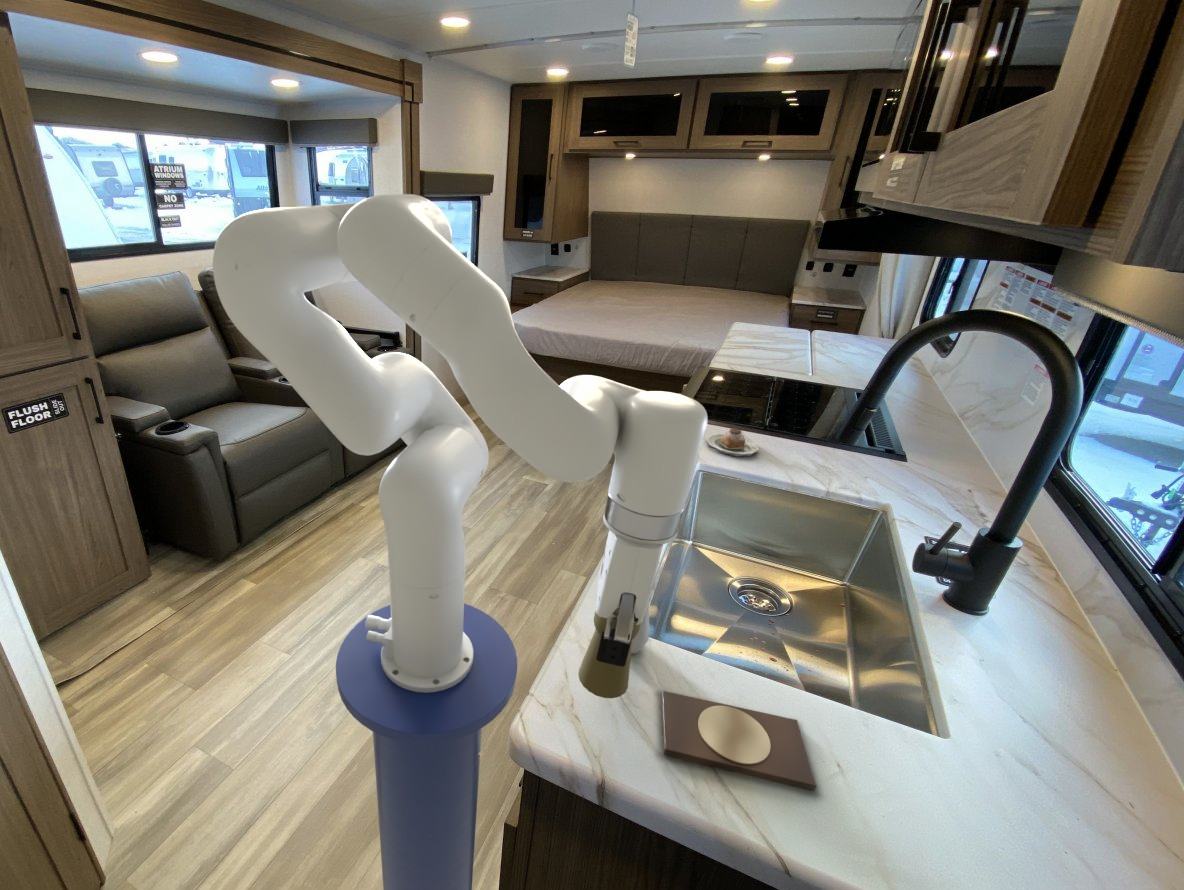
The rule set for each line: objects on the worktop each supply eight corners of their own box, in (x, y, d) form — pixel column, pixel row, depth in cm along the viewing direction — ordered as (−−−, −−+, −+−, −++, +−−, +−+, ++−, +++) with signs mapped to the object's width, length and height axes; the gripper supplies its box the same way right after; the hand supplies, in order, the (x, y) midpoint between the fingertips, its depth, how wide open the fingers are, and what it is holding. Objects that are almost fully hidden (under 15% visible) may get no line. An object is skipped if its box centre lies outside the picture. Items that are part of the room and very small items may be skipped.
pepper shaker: (588, 700, 67) (604, 629, 62) (571, 661, 72) (585, 593, 67) (636, 696, 68) (656, 625, 63) (616, 657, 73) (633, 590, 68)
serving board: (663, 754, 67) (665, 748, 66) (660, 695, 74) (662, 688, 74) (814, 791, 63) (817, 784, 63) (795, 725, 71) (798, 718, 70)
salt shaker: (650, 640, 83) (668, 567, 77) (639, 665, 79) (657, 590, 73) (612, 625, 86) (625, 553, 80) (599, 648, 82) (612, 575, 76)
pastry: (749, 440, 150) (753, 423, 148) (763, 459, 140) (769, 442, 137) (702, 436, 151) (706, 420, 149) (713, 455, 141) (717, 438, 139)
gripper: (609, 470, 67) (585, 592, 75) (600, 551, 52) (571, 691, 61) (676, 481, 65) (643, 604, 74) (686, 568, 51) (644, 709, 59)
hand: (611, 642), depth 67 cm, fingers closed on pepper shaker, 5 cm apart
